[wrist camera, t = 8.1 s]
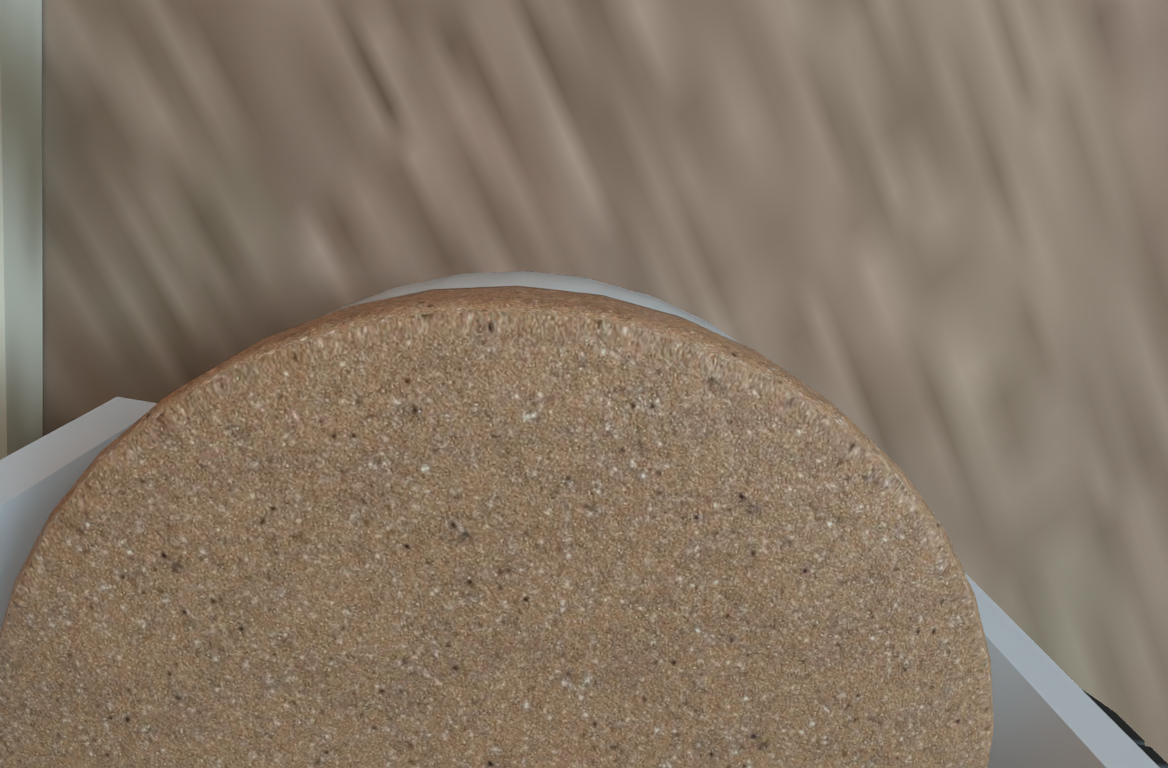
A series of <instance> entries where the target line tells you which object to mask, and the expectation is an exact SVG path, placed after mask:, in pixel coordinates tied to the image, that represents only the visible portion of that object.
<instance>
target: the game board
mask: <svg viewBox="0 0 1168 768" xmlns="http://www.w3.org/2000/svg"><path fill="white" fill-rule="evenodd" d="M42 437H43V343H42V0H0V460H1V459H3V458H5V457H7V456H8V455H10V454H12V453H14V452H16V451H18V450H19V449H21V448H23V447H25V446H27V445H29V444H31V443H32V442H34V441H36V440H38V439H40V438H42Z"/></svg>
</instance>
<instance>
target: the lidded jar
mask: <svg viewBox="0 0 1168 768" xmlns="http://www.w3.org/2000/svg"><path fill="white" fill-rule="evenodd" d="M993 728H994V717H993V697H992V676H991V659H990V655H989V650H988V646H987V642H986V638H985V634H984V630H983V626H982V622H981V618H980V614H979V609H978V605H977V601H976V597H975V594H974V592H973V589H972V587H971V585H970V583H969V581H968V579H967V576H966V574H965V572H964V570H963V568H962V566H961V563H960V561H959V559H958V557H957V555H956V553H955V551H954V548H953V546H952V544H951V542H950V540H949V538H948V535H947V533H946V531H945V530H944V528H943V527H942V525H941V524H940V523H939V521H938V520H937V518H936V517H935V516H934V514H933V513H932V511H931V510H930V509H929V507H928V506H927V504H926V503H925V502H924V500H923V499H922V497H921V496H920V495H919V493H918V492H917V490H916V489H915V488H914V486H913V485H912V483H911V482H910V481H909V479H908V478H907V476H906V475H905V474H904V472H903V471H902V470H901V469H900V468H899V467H898V466H897V465H896V464H895V463H894V462H893V461H892V460H891V459H890V458H889V457H888V456H887V455H886V454H885V453H884V452H883V451H882V450H881V449H880V448H879V447H877V446H876V445H875V444H874V443H873V442H872V441H871V440H870V439H869V438H868V437H867V436H866V435H865V434H864V433H863V432H862V431H861V430H860V429H859V428H858V427H857V426H856V425H855V424H854V423H853V422H852V421H851V420H849V419H848V418H847V417H846V416H845V415H844V414H843V413H842V412H841V411H840V410H839V409H838V408H837V407H836V406H835V405H833V404H832V403H831V402H830V401H829V400H827V399H826V398H825V397H824V396H822V395H821V394H819V393H818V392H816V391H815V390H813V389H812V388H810V387H809V386H807V385H806V384H804V383H803V382H801V381H800V380H798V379H797V378H795V377H794V376H793V375H791V374H790V373H788V372H787V371H785V370H784V369H782V368H781V367H779V366H778V365H776V364H775V363H773V362H772V361H770V360H769V359H767V358H766V357H764V356H763V355H762V354H760V353H758V352H757V351H755V350H753V349H750V348H748V347H746V346H744V345H742V344H740V343H739V342H737V341H736V340H734V339H733V338H731V337H730V336H728V335H727V334H725V333H724V332H722V331H721V330H719V329H718V328H716V327H715V326H714V325H712V324H711V323H709V322H707V321H705V320H703V319H701V318H698V317H696V316H694V315H692V314H690V313H688V312H685V311H683V310H681V309H679V308H677V307H674V306H672V305H670V304H668V303H666V302H664V301H661V300H659V299H657V298H655V297H653V296H650V295H646V294H643V293H639V292H636V291H632V290H629V289H625V288H621V287H618V286H614V285H611V284H607V283H603V282H600V281H596V280H593V279H589V278H585V277H577V276H569V275H560V274H551V273H542V272H533V271H511V272H488V273H467V274H458V275H453V276H449V277H444V278H439V279H434V280H429V281H424V282H419V283H414V284H409V285H405V286H400V287H395V288H392V289H390V290H387V291H384V292H382V293H379V294H376V295H374V296H371V297H369V298H366V299H363V300H361V301H358V302H355V303H353V304H350V305H347V306H345V307H342V308H339V309H337V310H334V311H332V312H330V313H328V314H326V315H324V316H322V317H319V318H317V319H314V320H311V321H309V322H306V323H303V324H301V325H298V326H295V327H293V328H290V329H288V330H285V331H282V332H280V333H277V334H274V335H272V336H269V337H266V338H264V339H262V340H261V341H259V342H257V343H255V344H253V345H252V346H250V347H248V348H246V349H245V350H243V351H241V352H240V353H238V354H236V355H234V356H233V357H231V358H229V359H228V360H226V361H224V362H223V363H221V364H219V365H217V366H216V367H214V368H212V369H211V370H209V371H207V372H205V373H204V374H202V375H200V376H199V377H197V378H195V379H193V380H192V381H190V382H188V383H187V384H185V385H183V386H182V387H180V388H178V389H177V390H175V391H174V392H172V393H171V394H169V395H168V396H166V397H164V398H163V399H162V400H161V401H160V402H158V403H157V404H156V405H155V406H154V407H153V408H151V409H150V410H149V411H148V412H147V413H146V414H144V415H143V416H142V417H141V418H140V419H138V420H137V421H136V422H135V423H134V424H133V425H131V426H130V427H129V428H128V429H127V430H126V431H124V432H123V433H122V434H121V435H120V436H118V437H117V438H116V439H115V440H114V441H113V442H111V443H110V444H109V445H108V446H107V447H106V448H104V449H103V450H102V451H101V452H100V453H99V454H98V455H97V457H96V458H95V459H94V460H93V461H92V463H91V464H90V465H89V466H88V468H87V469H86V470H85V471H84V473H83V474H82V475H81V476H80V478H79V479H78V480H77V481H76V483H75V484H74V485H73V486H72V487H71V489H70V490H69V491H68V492H67V494H66V495H65V496H64V497H63V499H62V500H61V501H60V502H59V504H58V505H57V506H56V507H55V509H54V510H53V511H52V512H51V513H50V515H49V517H48V519H47V521H46V523H45V525H44V526H43V528H42V530H41V532H40V534H39V536H38V538H37V540H36V542H35V543H34V545H33V547H32V549H31V551H30V553H29V555H28V557H27V559H26V561H25V562H24V564H23V566H22V568H21V570H20V572H19V574H18V576H17V578H16V579H15V582H14V585H13V589H12V592H11V596H10V599H9V603H8V606H7V610H6V613H5V616H4V620H3V623H2V627H1V630H0V768H988V762H989V756H990V750H991V743H992V737H993Z"/></svg>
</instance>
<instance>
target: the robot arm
mask: <svg viewBox="0 0 1168 768" xmlns="http://www.w3.org/2000/svg"><path fill="white" fill-rule="evenodd" d="M156 404H157V403H153V402H146V401H140V400H134V399H128V398H122V397H115V398H114V399H112V400H110V401H108V402H106V403H104V404H103V405H101V406H99V407H97V408H95V409H93V410H91V411H90V412H88V413H86V414H84V415H82V416H80V417H79V418H77V419H75V420H73V421H71V422H69V423H67V424H66V425H64V426H62V427H60V428H58V429H56V430H55V431H53V432H51V433H49V434H47V435H45V436H43V437H42V438H40V439H38V440H36V441H34V442H32V443H31V444H29V445H27V446H25V447H23V448H21V449H19V450H18V451H16V452H14V453H12V454H10V455H8V456H7V457H5V458H3V459H1V460H0V630H1V627H2V623H3V620H4V616H5V613H6V610H7V606H8V603H9V599H10V596H11V592H12V589H13V585H14V582H15V579H16V578H17V576H18V574H19V572H20V570H21V568H22V566H23V564H24V562H25V561H26V559H27V557H28V555H29V553H30V551H31V549H32V547H33V545H34V543H35V542H36V540H37V538H38V536H39V534H40V532H41V530H42V528H43V526H44V525H45V523H46V521H47V519H48V517H49V515H50V513H51V512H52V511H53V510H54V509H55V507H56V506H57V505H58V504H59V502H60V501H61V500H62V499H63V497H64V496H65V495H66V494H67V492H68V491H69V490H70V489H71V487H72V486H73V485H74V484H75V483H76V481H77V480H78V479H79V478H80V476H81V475H82V474H83V473H84V471H85V470H86V469H87V468H88V466H89V465H90V464H91V463H92V461H93V460H94V459H95V458H96V457H97V455H98V454H99V453H100V452H101V451H102V450H103V449H104V448H106V447H107V446H108V445H109V444H110V443H111V442H113V441H114V440H115V439H116V438H117V437H118V436H120V435H121V434H122V433H123V432H124V431H126V430H127V429H128V428H129V427H130V426H131V425H133V424H134V423H135V422H136V421H137V420H138V419H140V418H141V417H142V416H143V415H144V414H146V413H147V412H148V411H149V410H150V409H151V408H153V407H154V406H155V405H156ZM965 574H966V573H965ZM966 576H967V579H968V581H969V583H970V585H971V587H972V589H973V592H974V594H975V597H976V601H977V605H978V609H979V614H980V618H981V622H982V626H983V630H984V634H985V638H986V642H987V646H988V650H989V655H990V659H991V676H992V697H993V717H994V728H993V737H992V743H991V750H990V756H989V762H988V768H1168V764H1167V763H1166V762H1165V761H1164V760H1163V759H1162V758H1161V757H1160V756H1159V755H1158V754H1157V753H1156V752H1155V751H1154V750H1153V749H1152V748H1151V747H1147V746H1145V744H1144V742H1145V741H1144V740H1143V739H1142V738H1141V737H1140V736H1139V735H1138V734H1137V733H1136V732H1135V731H1134V730H1133V729H1132V728H1131V727H1130V726H1128V725H1127V724H1126V723H1125V722H1124V721H1123V720H1122V719H1121V718H1120V717H1119V716H1118V715H1117V714H1116V713H1115V712H1114V711H1112V710H1111V709H1109V708H1108V707H1106V706H1105V705H1104V704H1102V703H1101V702H1099V701H1098V700H1096V699H1095V698H1093V697H1092V696H1091V695H1089V694H1088V693H1086V692H1085V691H1083V690H1082V689H1081V688H1080V687H1079V686H1078V685H1077V684H1076V683H1075V682H1074V681H1073V680H1072V679H1071V678H1070V677H1069V676H1068V675H1067V674H1066V673H1065V672H1064V671H1063V670H1062V669H1061V668H1060V667H1059V666H1058V665H1057V664H1056V663H1055V662H1054V661H1053V660H1052V659H1051V658H1050V657H1049V656H1048V655H1047V654H1046V653H1045V652H1044V651H1043V650H1042V649H1041V648H1040V647H1039V646H1038V645H1037V644H1036V643H1035V642H1034V641H1033V640H1032V639H1031V638H1030V637H1029V636H1028V635H1027V634H1026V633H1025V632H1024V631H1023V630H1022V629H1021V628H1020V627H1019V626H1018V625H1017V624H1016V623H1015V622H1014V621H1013V620H1012V619H1011V618H1010V617H1009V616H1008V615H1007V614H1006V613H1005V612H1004V611H1003V610H1002V609H1001V608H1000V607H999V606H998V605H997V604H996V603H995V602H994V601H993V600H992V599H991V598H990V597H989V596H988V595H987V594H986V593H985V592H984V591H983V590H982V589H981V588H980V587H979V586H978V585H977V584H976V583H975V582H974V581H973V580H972V579H971V578H970V577H969V576H968V575H967V574H966Z"/></svg>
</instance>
